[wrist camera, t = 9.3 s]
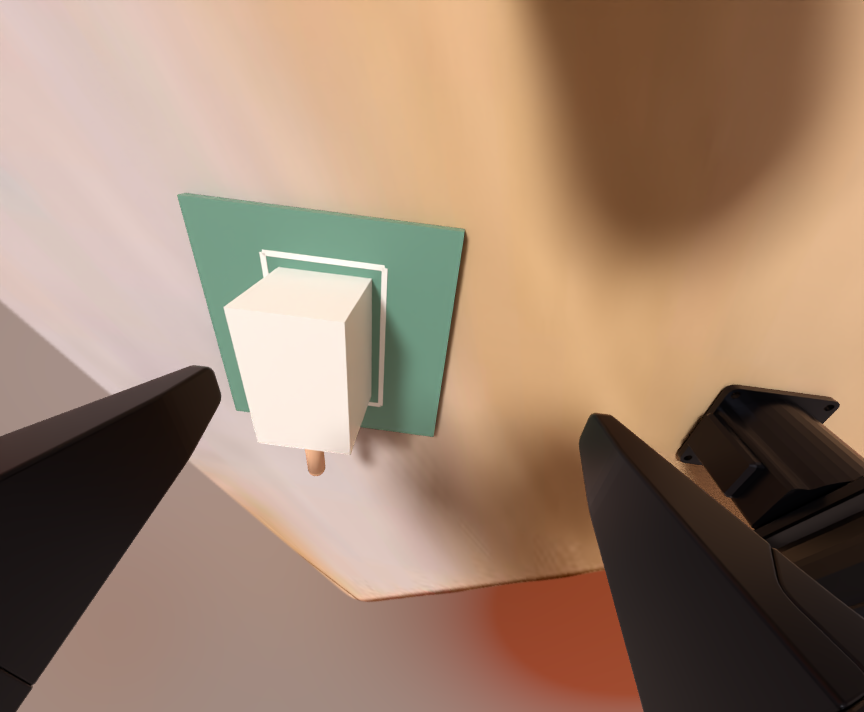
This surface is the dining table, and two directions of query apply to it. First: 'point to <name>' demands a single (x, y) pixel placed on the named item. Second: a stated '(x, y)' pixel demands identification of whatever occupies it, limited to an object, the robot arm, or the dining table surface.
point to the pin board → (345, 255)
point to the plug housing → (305, 359)
